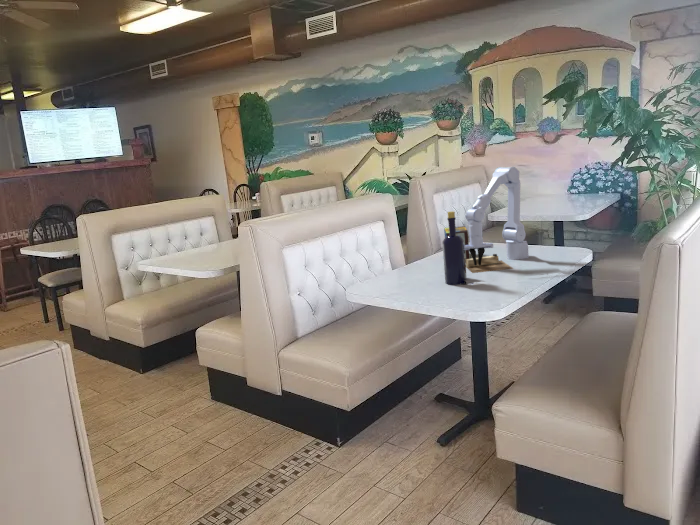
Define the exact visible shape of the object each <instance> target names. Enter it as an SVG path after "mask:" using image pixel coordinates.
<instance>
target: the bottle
mask: <svg viewBox="0 0 700 525" xmlns="http://www.w3.org/2000/svg"><path fill="white" fill-rule="evenodd" d="M455 215H456V214H455V210H454V211H453V210H452V211H448V212H447V222H448V228H449V234H450V236H447V237H445V236H444V239H443V240H442V252H443V253H442V254H443V267H444V269H443V270H444V279H445V280H444V281H445V284H447V285H448V286H449V285H450V286H459V285H465V284H466V283H467V281H466V280H467V278H468V277H467V268H466V260H465V248H464V240H463V239H462V238H461V236H459V235H456V228H455V227H456V220H457V219H456V218H457V217H456V216H455Z"/></svg>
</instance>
